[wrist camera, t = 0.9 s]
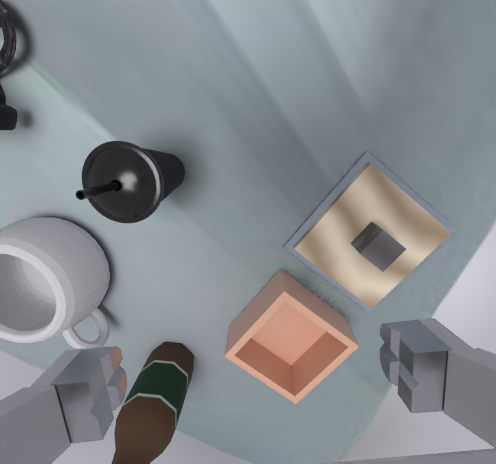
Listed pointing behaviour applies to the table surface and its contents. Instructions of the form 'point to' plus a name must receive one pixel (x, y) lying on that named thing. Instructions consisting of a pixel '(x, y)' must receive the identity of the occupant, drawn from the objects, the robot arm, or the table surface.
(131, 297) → the table surface
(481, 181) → the table surface
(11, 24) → the milk frother
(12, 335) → the mug
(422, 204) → the slate mat
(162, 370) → the beer bottle
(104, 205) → the drinking cup
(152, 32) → the table surface
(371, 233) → the birch lid
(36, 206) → the table surface
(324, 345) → the open square planter box
